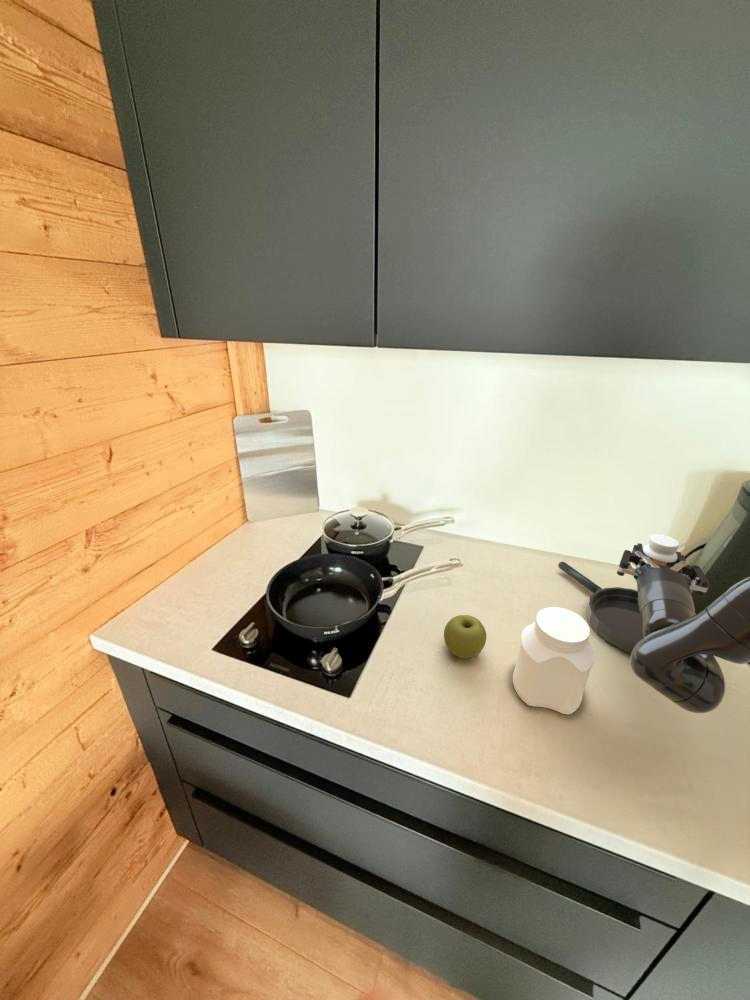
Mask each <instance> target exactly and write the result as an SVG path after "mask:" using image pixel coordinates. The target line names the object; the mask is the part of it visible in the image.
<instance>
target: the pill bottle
mask: <svg viewBox="0 0 750 1000" xmlns="http://www.w3.org/2000/svg"><path fill="white" fill-rule="evenodd" d="M647 542H648V543H647V544H646V545H645V546H643V555H644V556H648V557H649V558H650V559H651V560H652V561H653V562H654V563H656V564H659V565H663V566H669V567H673V566H674V565H675V564H676V562H677V554H676V553H675V552H676V551H678V548H679V546H680V542H679V541H678V540H677V539H675V538H673V537H671V536H669V535H666V534H661V533H659V534H658V533H656V534H655V533H654V534H651V535H650V536H649V538H648V541H647ZM633 580H634V582H635V583H636V584H637V581H636V580H635V578H634V577H633Z"/></svg>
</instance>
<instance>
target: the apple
mask: <svg viewBox="0 0 750 1000" xmlns="http://www.w3.org/2000/svg"><path fill="white" fill-rule="evenodd" d="M443 641H444V643H445V645H446V648H447V649H448V650H449V652H450V653H451V654H452V655H454V656H456V657H458V658H460V659H470V658H471V659H472V658H473V657H475V656H478V654H480V653H481V652H482V650H483V649H484V647H485V646H486V643H487V631H486V628H485V626H484V624H483V622H481V621H480V620H479V619H478V618H477V617H475V616H472V615H469V614H458V615H456V616H454V617H452V618H450V620H448V622H447V623H446V625H445V627H444V629H443Z"/></svg>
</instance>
